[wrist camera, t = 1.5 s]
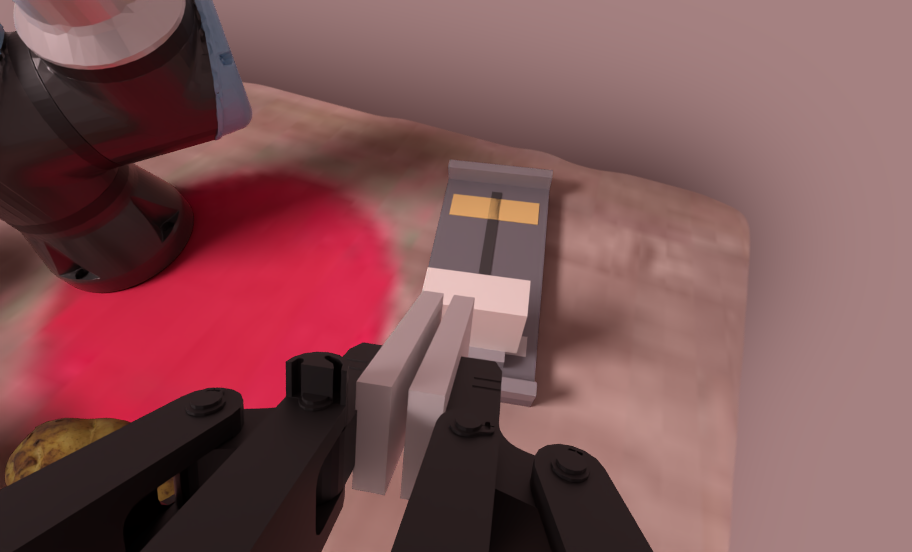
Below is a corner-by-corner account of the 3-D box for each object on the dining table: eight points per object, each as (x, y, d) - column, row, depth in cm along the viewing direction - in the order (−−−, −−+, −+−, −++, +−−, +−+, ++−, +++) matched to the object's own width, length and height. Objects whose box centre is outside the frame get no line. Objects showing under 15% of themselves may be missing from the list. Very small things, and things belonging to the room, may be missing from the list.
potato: (165, 563, 34) (86, 575, 27) (53, 490, 37) (-44, 484, 30) (232, 461, 37) (178, 448, 31) (125, 401, 40) (54, 377, 33)
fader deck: (530, 406, 39) (536, 396, 36) (404, 386, 40) (398, 374, 37) (547, 193, 52) (552, 170, 48) (451, 182, 53) (449, 159, 49)
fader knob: (513, 369, 38) (526, 329, 30) (427, 356, 39) (416, 313, 31) (518, 319, 41) (531, 269, 33) (437, 308, 42) (430, 256, 33)
